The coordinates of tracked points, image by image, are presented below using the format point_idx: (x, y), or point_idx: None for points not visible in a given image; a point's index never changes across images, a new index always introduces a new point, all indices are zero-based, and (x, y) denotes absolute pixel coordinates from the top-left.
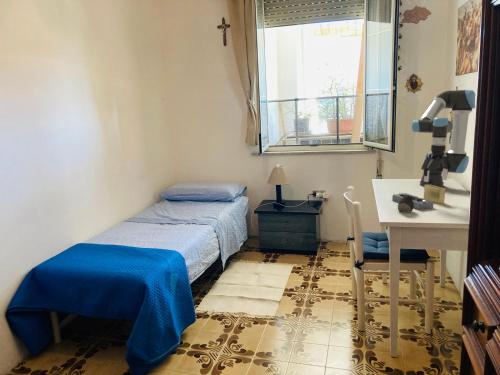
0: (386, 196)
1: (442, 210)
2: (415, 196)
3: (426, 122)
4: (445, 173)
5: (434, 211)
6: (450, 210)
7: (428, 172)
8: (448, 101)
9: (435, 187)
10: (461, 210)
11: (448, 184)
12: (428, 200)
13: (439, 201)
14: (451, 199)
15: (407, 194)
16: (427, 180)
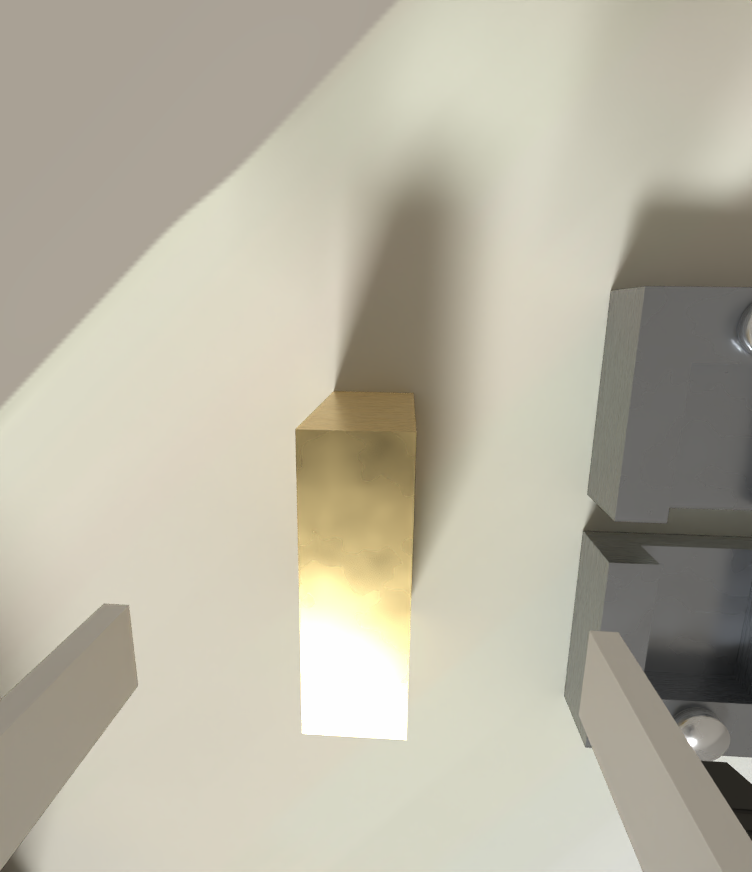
0: None
1: (610, 148)
2: (619, 590)
3: None
4: (30, 732)
5: (735, 153)
6: (524, 106)
7: (733, 844)
8: None
9: (394, 548)
10: (403, 47)
11: None
12: (648, 368)
13: (405, 397)
14: (141, 474)
15: None
16: (629, 653)
